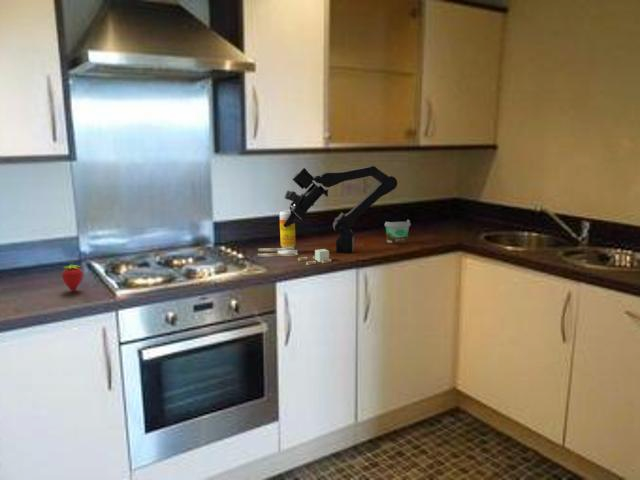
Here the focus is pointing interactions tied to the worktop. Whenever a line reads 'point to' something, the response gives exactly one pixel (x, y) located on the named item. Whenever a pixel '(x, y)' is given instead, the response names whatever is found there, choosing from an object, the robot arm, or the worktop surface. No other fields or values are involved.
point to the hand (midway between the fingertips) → (284, 225)
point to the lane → (275, 253)
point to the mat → (289, 251)
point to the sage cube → (321, 255)
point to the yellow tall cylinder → (286, 231)
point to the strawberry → (72, 276)
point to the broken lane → (313, 261)
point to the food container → (397, 232)
